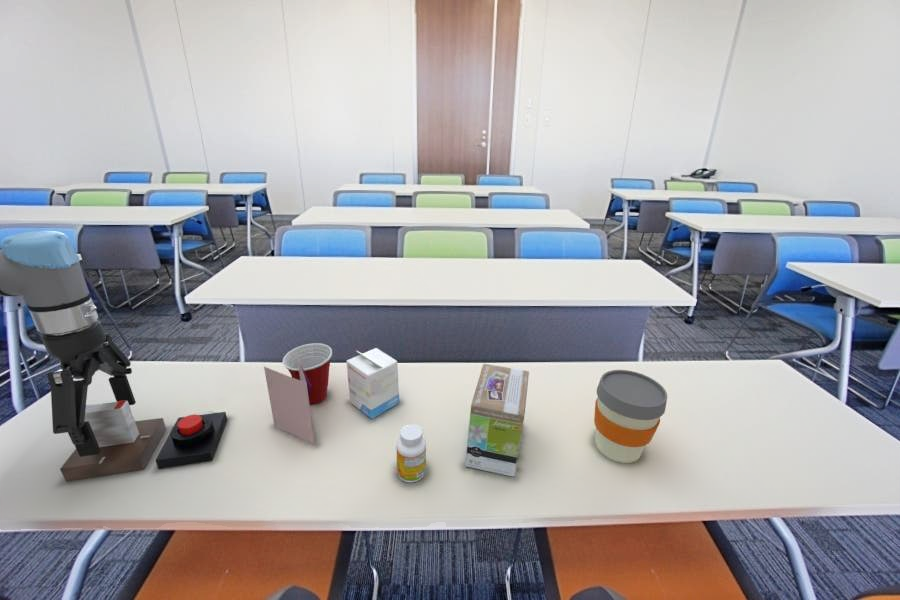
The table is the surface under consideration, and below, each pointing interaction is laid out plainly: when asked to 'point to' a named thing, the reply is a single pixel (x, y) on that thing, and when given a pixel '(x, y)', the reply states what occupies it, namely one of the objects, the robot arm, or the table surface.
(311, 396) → the plastic cup
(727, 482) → the table surface
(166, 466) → the button block
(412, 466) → the supplement bottle
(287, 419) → the greeting card
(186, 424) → the button
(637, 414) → the reusable coffee cup
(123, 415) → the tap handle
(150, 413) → the table surface
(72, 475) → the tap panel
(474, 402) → the tea box
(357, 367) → the ink box
